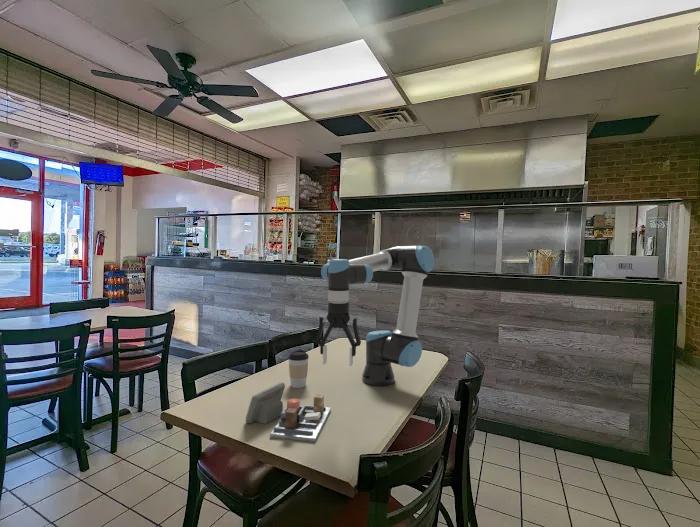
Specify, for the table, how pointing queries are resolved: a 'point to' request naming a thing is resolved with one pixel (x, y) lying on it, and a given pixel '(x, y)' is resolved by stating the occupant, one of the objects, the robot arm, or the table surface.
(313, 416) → the block
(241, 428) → the table surface
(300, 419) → the grey compartment tray
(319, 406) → the tan wooden block
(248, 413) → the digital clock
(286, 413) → the dark brown wooden block
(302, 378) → the coffee cup
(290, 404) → the button
